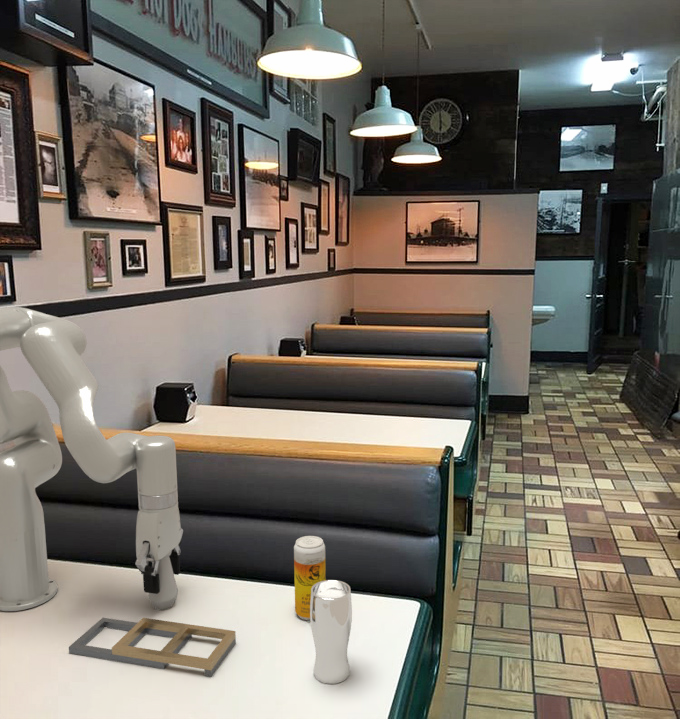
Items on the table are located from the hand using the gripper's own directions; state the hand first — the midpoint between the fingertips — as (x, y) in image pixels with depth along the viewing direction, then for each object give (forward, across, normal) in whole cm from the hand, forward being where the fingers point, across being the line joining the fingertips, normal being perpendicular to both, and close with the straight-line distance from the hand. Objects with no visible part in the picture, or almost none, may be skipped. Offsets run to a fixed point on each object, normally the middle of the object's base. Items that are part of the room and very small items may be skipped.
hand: (162, 582), depth 130 cm
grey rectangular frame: (+5, +14, +2) cm, 15 cm away
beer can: (+5, -4, +30) cm, 31 cm away
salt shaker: (+5, 0, 0) cm, 5 cm away
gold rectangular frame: (+5, +14, +10) cm, 18 cm away
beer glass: (+5, +13, +39) cm, 41 cm away
